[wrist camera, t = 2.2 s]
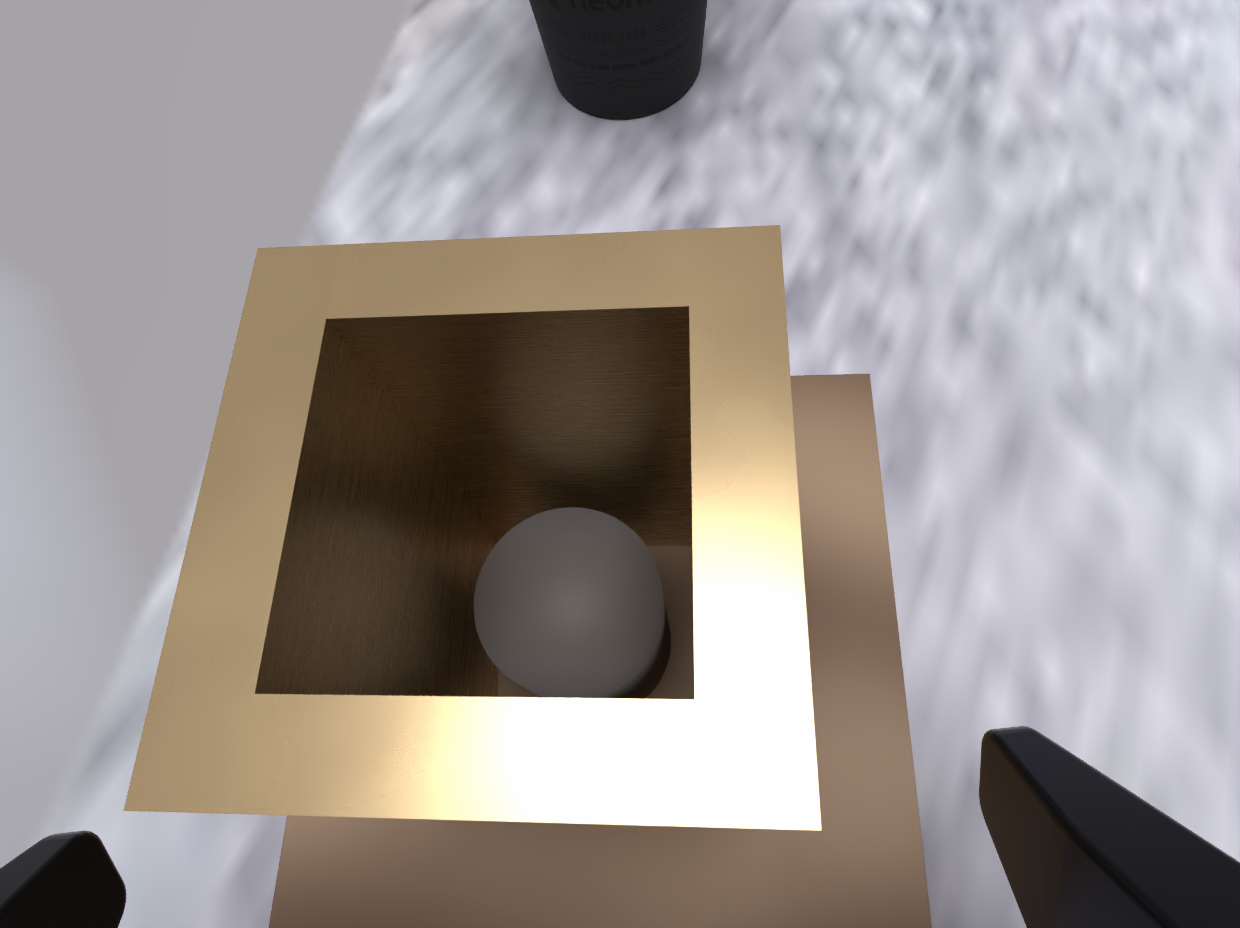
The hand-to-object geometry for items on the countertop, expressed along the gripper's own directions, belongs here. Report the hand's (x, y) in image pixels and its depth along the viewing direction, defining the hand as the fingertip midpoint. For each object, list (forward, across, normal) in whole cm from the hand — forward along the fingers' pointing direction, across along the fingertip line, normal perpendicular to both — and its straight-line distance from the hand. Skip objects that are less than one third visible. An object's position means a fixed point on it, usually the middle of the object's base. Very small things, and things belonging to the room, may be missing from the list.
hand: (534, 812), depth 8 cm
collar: (+7, 0, +3) cm, 8 cm away
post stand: (+9, 0, +5) cm, 11 cm away
